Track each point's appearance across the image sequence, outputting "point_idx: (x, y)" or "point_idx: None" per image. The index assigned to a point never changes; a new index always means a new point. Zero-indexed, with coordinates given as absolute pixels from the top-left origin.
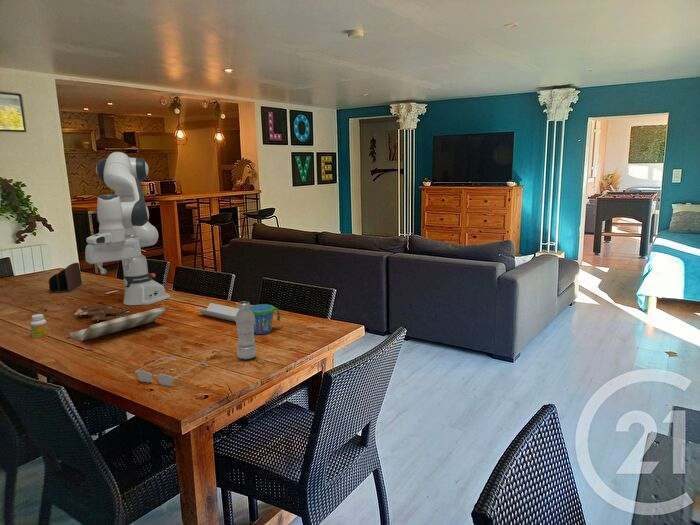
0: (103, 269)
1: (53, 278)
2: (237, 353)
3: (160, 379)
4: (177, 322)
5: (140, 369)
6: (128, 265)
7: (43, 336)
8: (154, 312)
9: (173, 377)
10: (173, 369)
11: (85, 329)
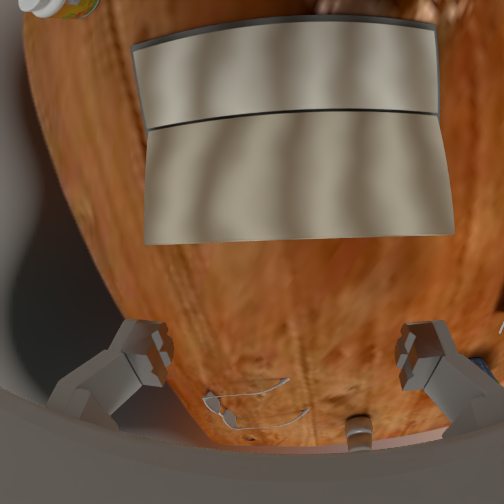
0: (137, 385)
1: None
2: (346, 426)
3: (226, 415)
4: (473, 175)
5: (211, 397)
6: (427, 387)
7: (79, 16)
8: (404, 235)
9: (236, 429)
10: (264, 395)
11: (185, 46)
